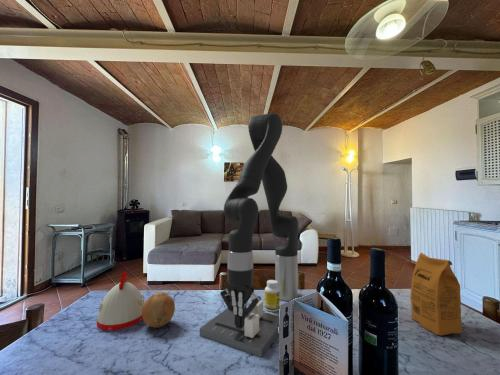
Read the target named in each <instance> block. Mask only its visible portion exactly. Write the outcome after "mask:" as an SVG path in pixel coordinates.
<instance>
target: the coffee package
mask: <svg viewBox="0 0 500 375" xmlns="http://www.w3.org/2000/svg"><path fill="white" fill-rule="evenodd" d="M452 265H453V263H452V261H451V260H450V259H449V260H448V259H441V258H434V257H430V256H428V255H426V254H425V253H423V252H420V253H419V254H418V258H417V260H416V262H415V267H414V269H413V273H412V277H411V287H410V303H411V304H410V305H411V307H410V308H411V320H413V321H414V322H417V323H419V325H420V326H421V327H422V328H423V329H425V330H427V331H429V332H431V333H433V334H435V335H438V336H445V335H450V334H454V335H455V334H460V333H463V327H462V308H461V306H462V305H461V304H462V299H461V298H462V297H461V284H460V283H459V280H458V279H457V276H456V275H455V273H454V271H453V270H452V267H451V266H452Z"/></svg>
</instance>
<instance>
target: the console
mask: <svg viewBox="0 0 500 375" xmlns="http://www.w3.org/2000/svg"><path fill="white" fill-rule="evenodd" d="M250 314H251V312H250V313H249V314H248V315H250ZM248 315H245V318H246V317H247V316H248ZM279 316H280V315H275V314H272V313H267V312H265V311H263V316H262V317H261V318H260V319H259V331H258V333H257V334H256V335H255V336H254V337H253V338H251V337H248V336H244V334H245V325H244V326H243V327H242V328H241V329H239V328H236V325H235V314H234V312H233V311H229V309H228V307H226V309H225V310H223V311H222V312H220V313H219V314H217V315H216V316H215V317H213V318H212V319H210V320H209V321H208V322H206V323H205V324H203V325H202V326H201V327H200V328H199V336H200V337H203V338H206V339H209V340H212V341H214V342H217V343H220V344H223V345H225V346H229V347H230V348H233V349H237V350H240V351H242V352H246V353H248V354H251V355H252V356H253V355H254V356H257V357H260V358H262V357H263V356H264V355H265V354H266V352H267V351H268V349H269V348H270V347H271V345H272V344H273V342H274V341H275V339H276V338H277V337H278V336H279V334H278V327H279Z"/></svg>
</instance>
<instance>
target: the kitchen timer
mask: <svg viewBox="0 0 500 375" xmlns="http://www.w3.org/2000/svg"><path fill="white" fill-rule="evenodd" d="M144 303H145V298H144V293H143V292H142V293H141V292H140V291H139V289H138V288H137V287H136V286H135V285H134V284H133V283H131V282H128V272H127V270H126V271H123V272H122V273H121V276H120V279H119V283H117V284H116V285H114V286H113V287H112V288H111V289H110V290H108V292H107V294H106V295H105V296H104V297H103V298H102V299H101V302H100V303H99V306H98V313H97V317H96V326H97V328H98V329H100V330H103V331H117V330H122V329H126V328H130V327H133V326H134V325H137V324H138V323H140V322H141V321H142V320H143V318H142V308H143V305H144Z"/></svg>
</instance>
